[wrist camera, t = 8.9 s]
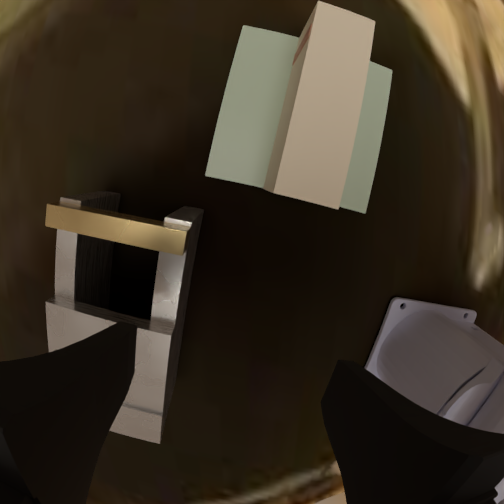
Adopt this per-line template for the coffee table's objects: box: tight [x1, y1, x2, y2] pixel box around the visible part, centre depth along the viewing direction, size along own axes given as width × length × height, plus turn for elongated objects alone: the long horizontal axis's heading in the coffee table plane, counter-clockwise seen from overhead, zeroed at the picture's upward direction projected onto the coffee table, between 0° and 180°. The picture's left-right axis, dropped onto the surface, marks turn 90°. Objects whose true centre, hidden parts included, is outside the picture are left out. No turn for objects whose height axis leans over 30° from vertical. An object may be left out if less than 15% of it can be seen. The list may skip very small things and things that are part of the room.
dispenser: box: [45, 191, 204, 444], centre depth 17 cm, size 7×12×7 cm, turn 167°
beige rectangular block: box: [263, 1, 375, 210], centre depth 15 cm, size 3×10×5 cm, turn 167°
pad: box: [205, 25, 392, 213], centre depth 18 cm, size 10×10×1 cm
